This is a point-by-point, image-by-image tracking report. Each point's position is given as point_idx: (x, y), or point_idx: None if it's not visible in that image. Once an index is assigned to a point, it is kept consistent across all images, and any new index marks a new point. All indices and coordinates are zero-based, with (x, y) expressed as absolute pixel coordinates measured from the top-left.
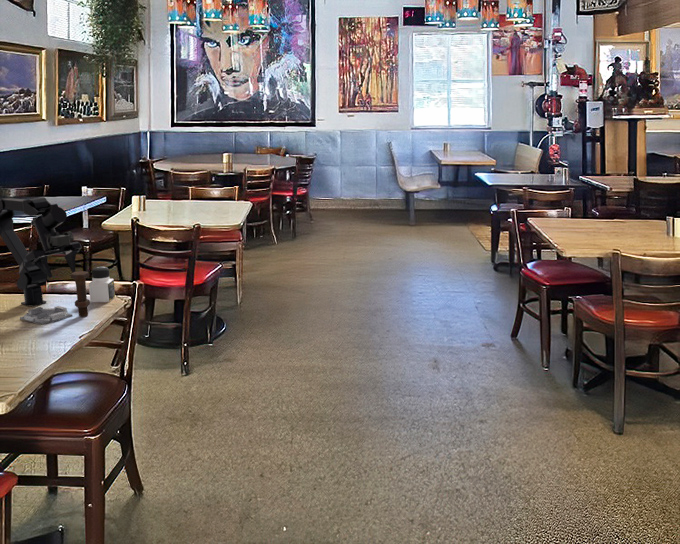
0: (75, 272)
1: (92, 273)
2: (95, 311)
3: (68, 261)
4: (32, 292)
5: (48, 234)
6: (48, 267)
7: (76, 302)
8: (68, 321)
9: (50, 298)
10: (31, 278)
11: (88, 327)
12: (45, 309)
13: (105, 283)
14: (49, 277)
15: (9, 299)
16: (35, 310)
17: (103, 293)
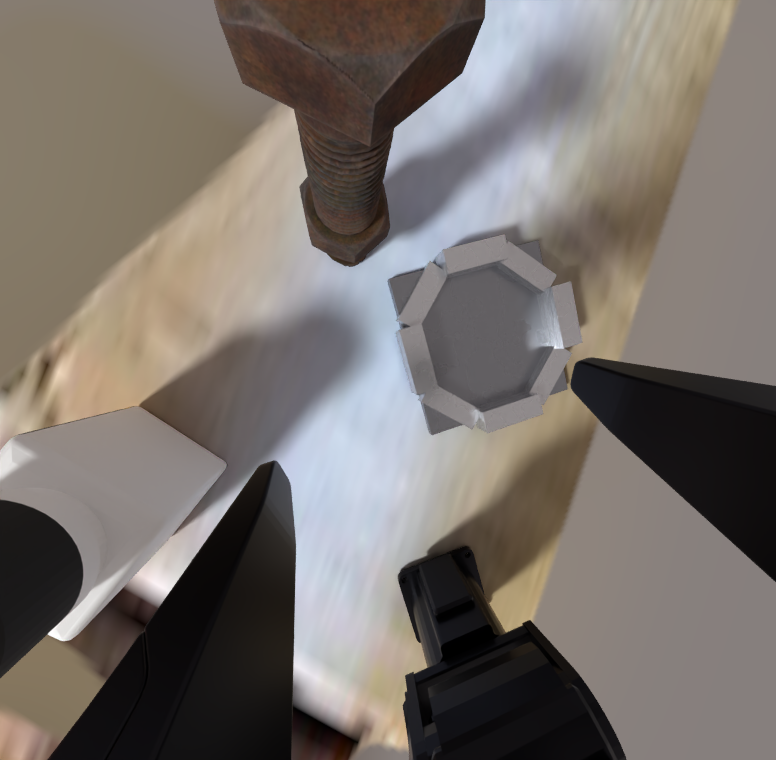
0: (392, 14)
1: (37, 606)
2: (269, 283)
3: (268, 746)
4: (482, 611)
5: None
6: (766, 399)
7: (386, 202)
8: (432, 208)
9: (358, 639)
10: (557, 675)
11: None
12: (467, 408)
13: (35, 448)
14: (588, 390)
15: None
16: (514, 400)
17: (127, 434)
